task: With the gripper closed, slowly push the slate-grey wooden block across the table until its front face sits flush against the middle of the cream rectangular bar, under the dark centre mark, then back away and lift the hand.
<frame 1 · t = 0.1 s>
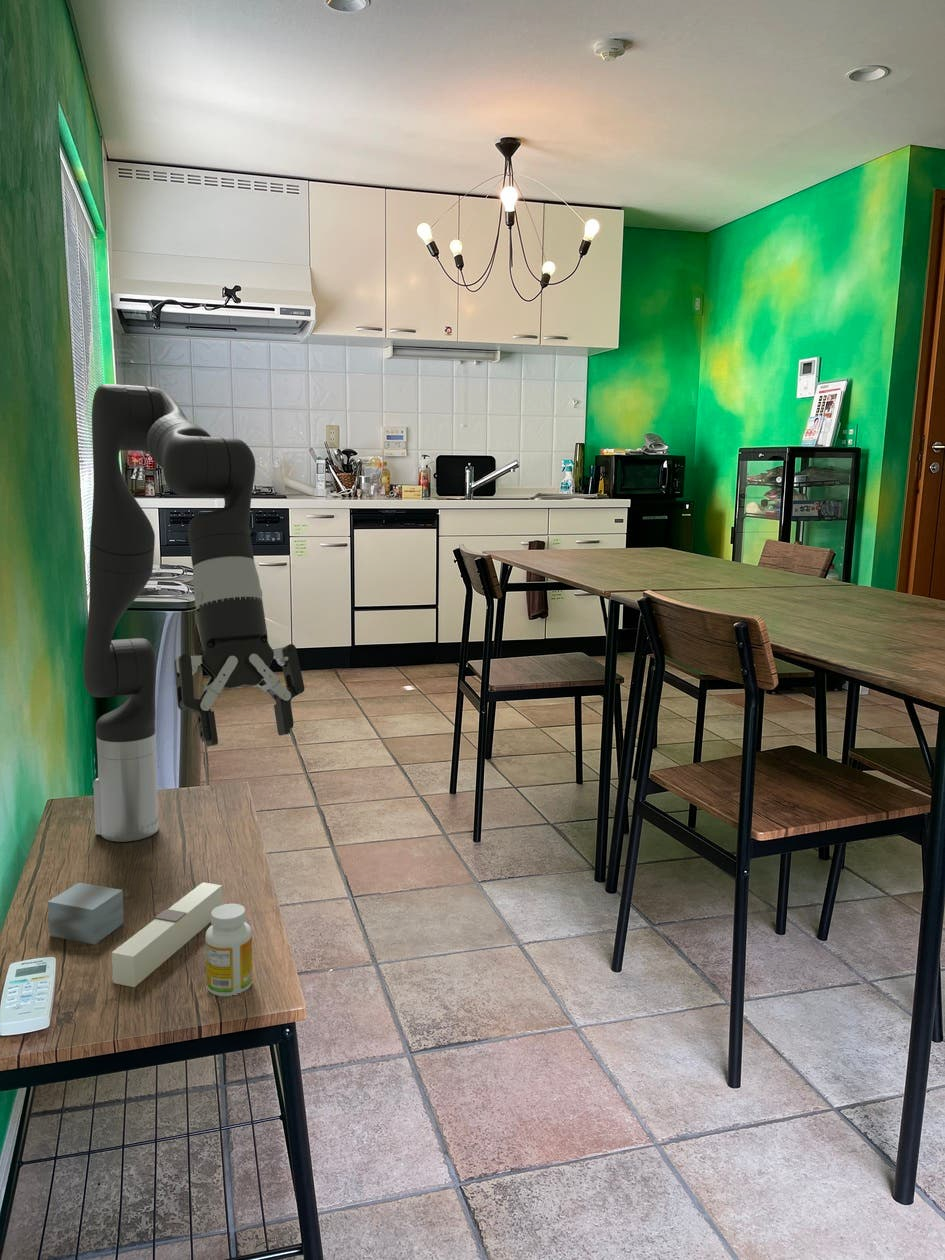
hand: (249, 740, 104), 31 cm above the table, tool tilted 20°, fingers open, 8 cm apart
supplement bottle: (229, 986, 111), on the table
block: (87, 930, 123), on the table
cream rectangular bar: (171, 944, 120), on the table
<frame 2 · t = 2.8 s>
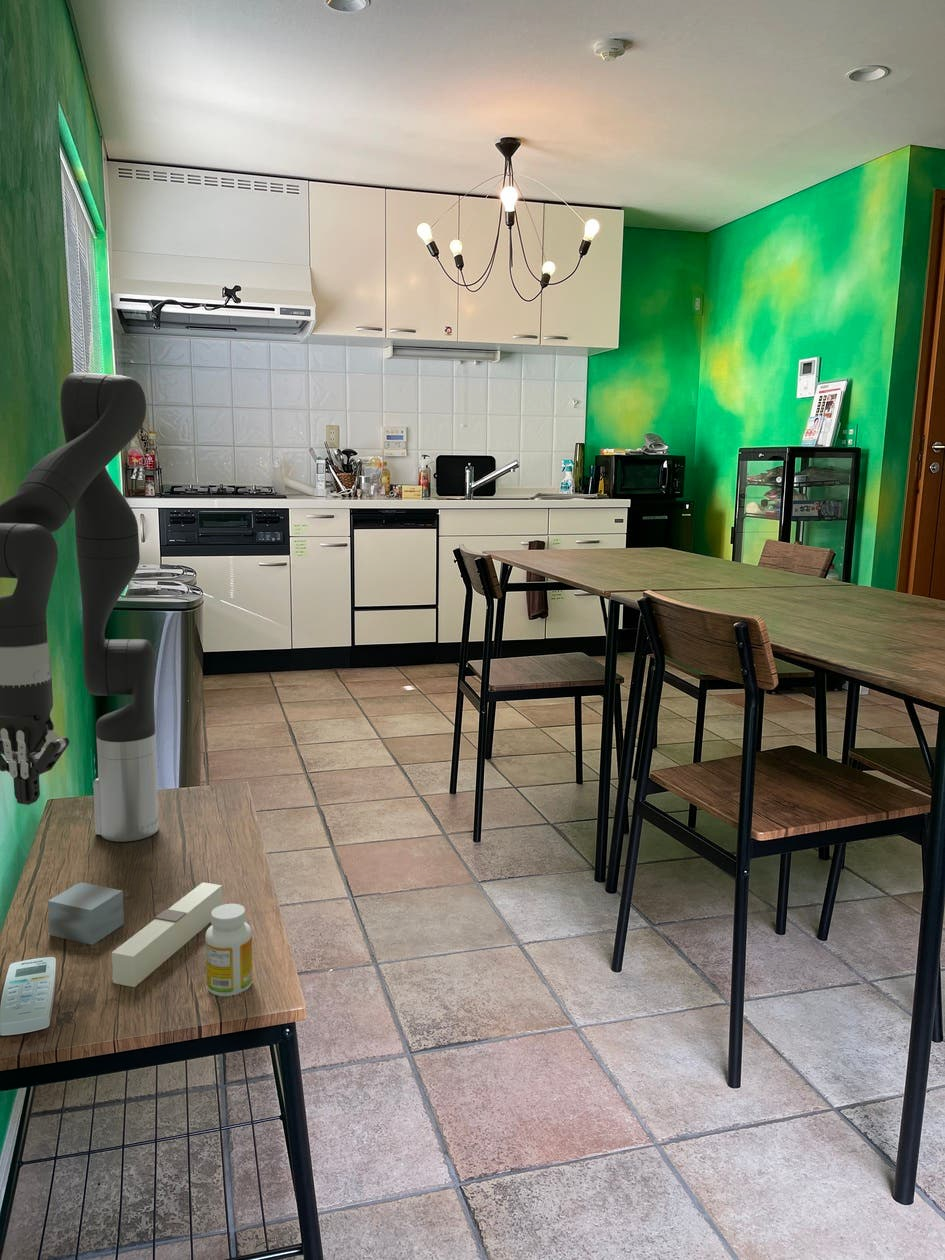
hand: (27, 802, 123), 17 cm above the table, tool pointing down, fingers closed
nothing on the table moved.
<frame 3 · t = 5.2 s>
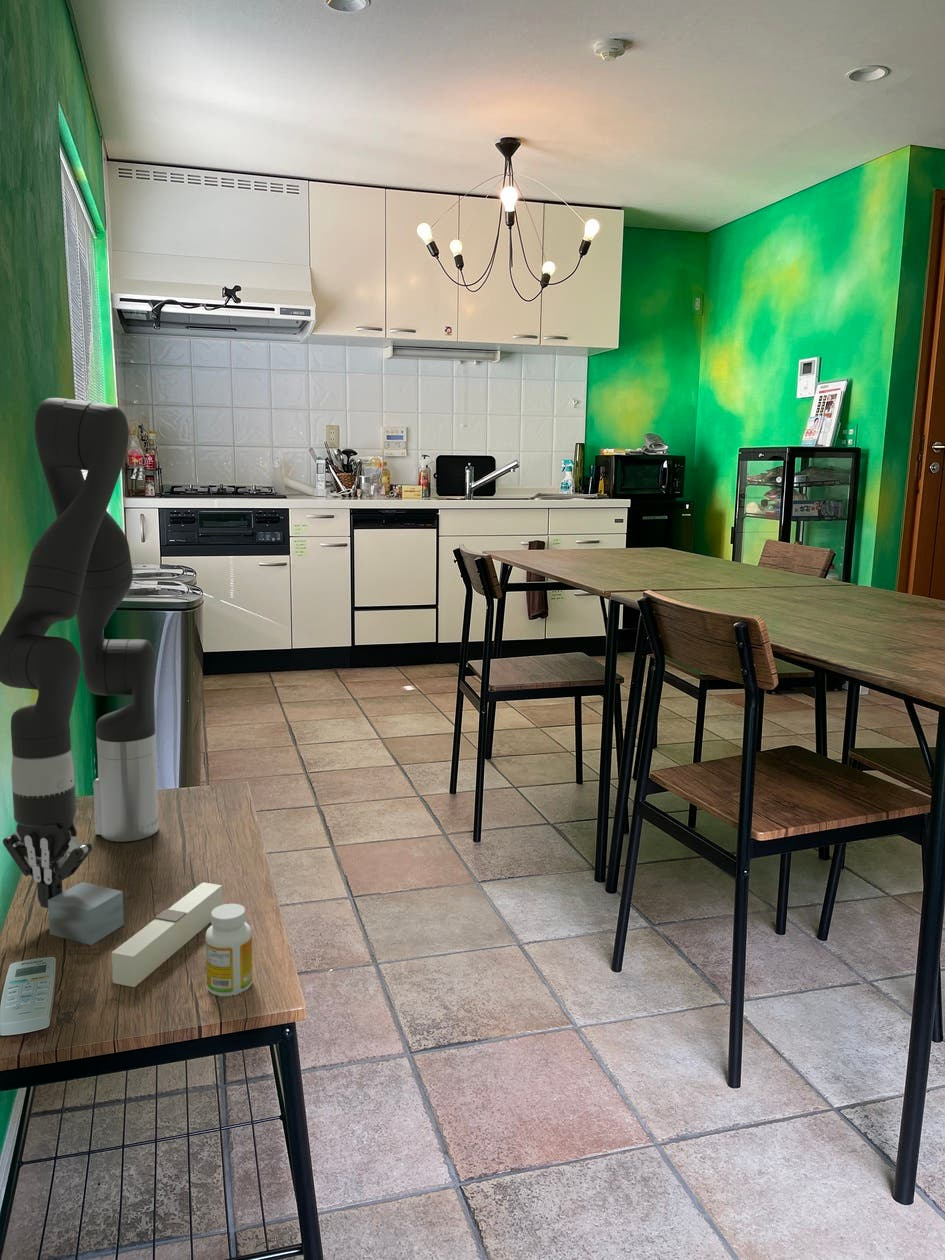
hand: (50, 905, 124), 3 cm above the table, tool pointing down, fingers closed
block: (87, 930, 123), on the table, touching gripper
everything else where it was.
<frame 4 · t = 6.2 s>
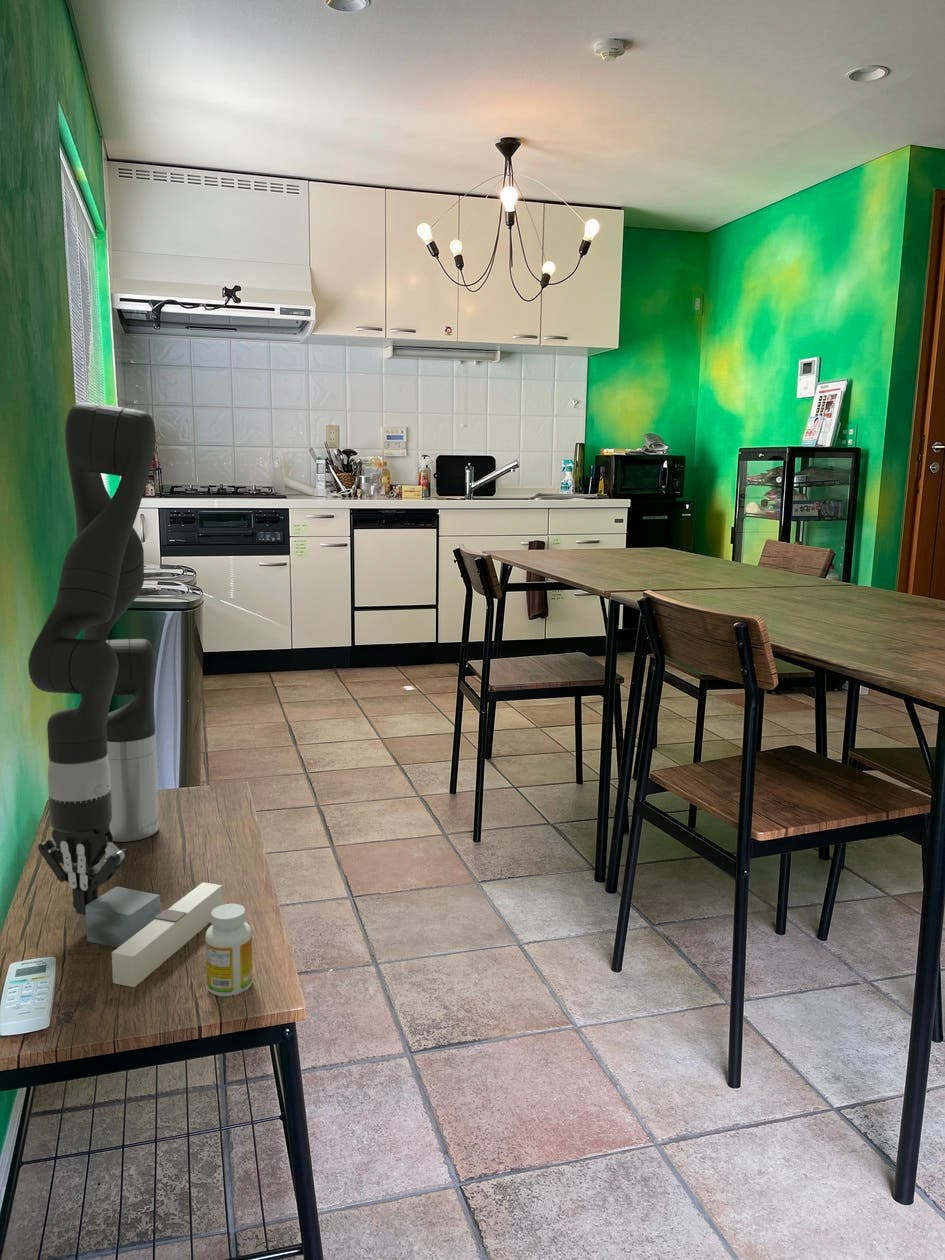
hand: (85, 911, 123), 3 cm above the table, tool pointing down, fingers closed
block: (124, 935, 122), on the table, touching gripper
everything else where it was.
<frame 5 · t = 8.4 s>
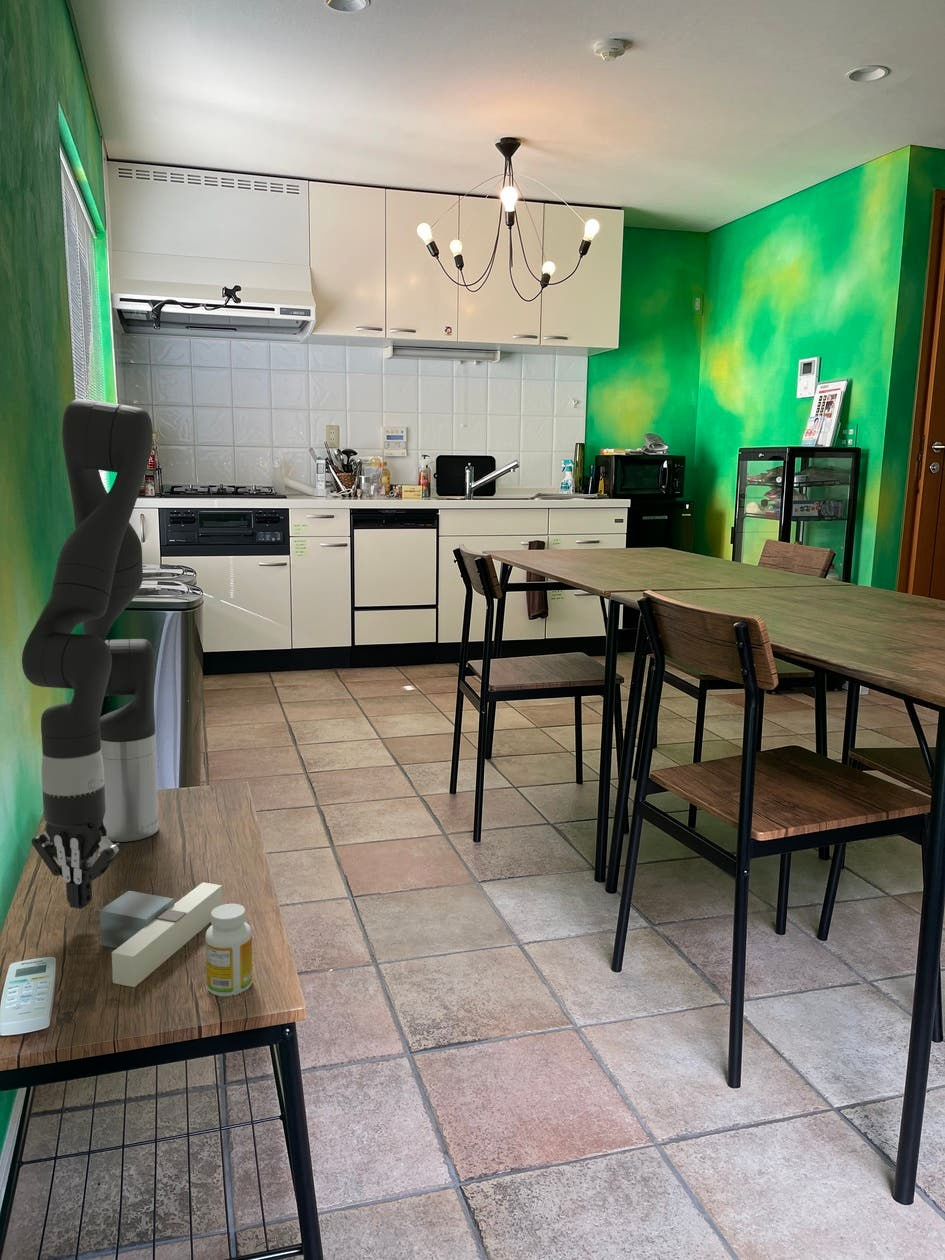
hand: (79, 905, 123), 3 cm above the table, tool pointing down, fingers closed
block: (138, 939, 121), on the table
everything else where it was.
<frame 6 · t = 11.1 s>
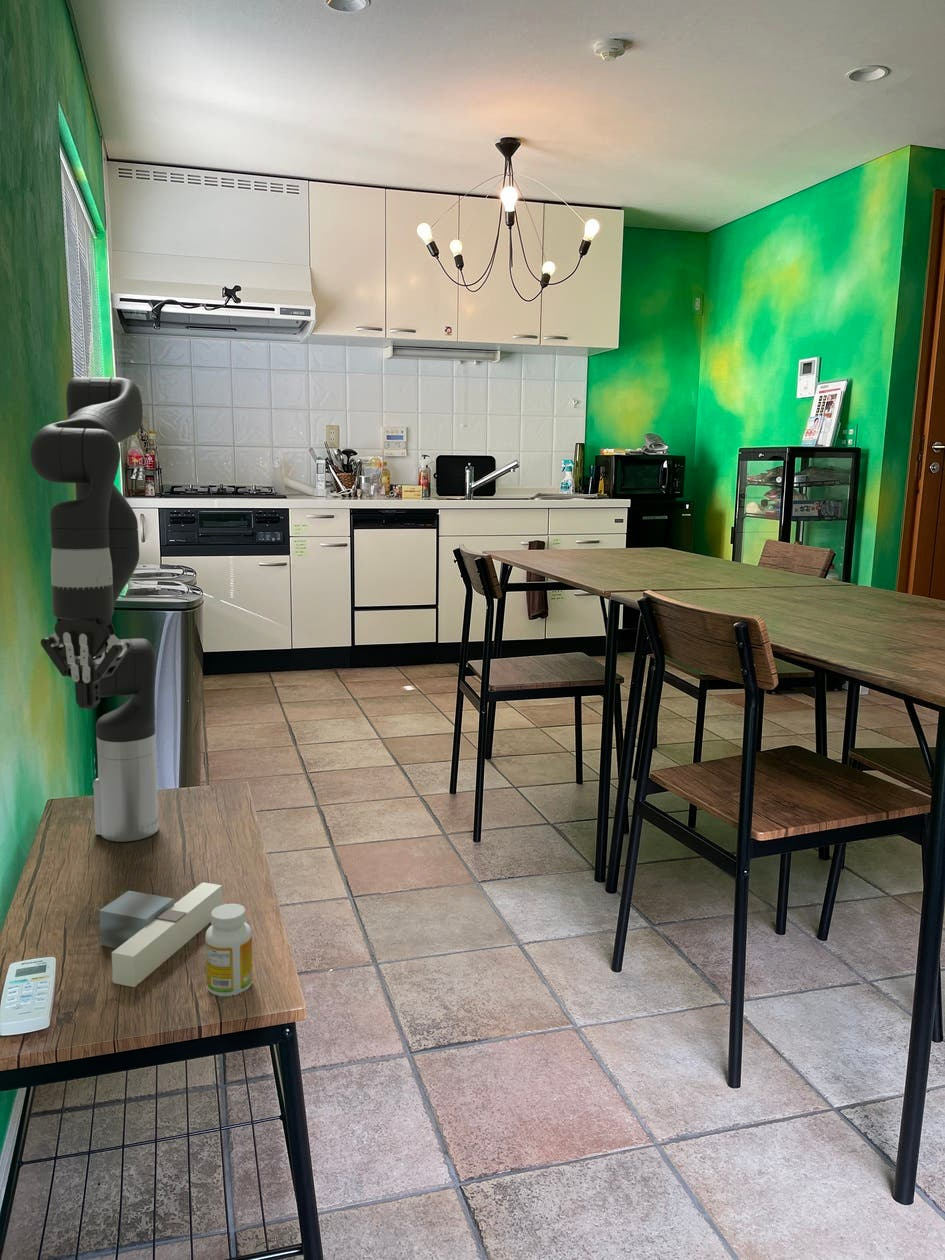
hand: (88, 707, 125), 29 cm above the table, tool pointing down, fingers closed
nothing on the table moved.
at the end: block 0.2 cm from the target spot on the table beside the cream rectangular bar, on the table; block tilted 0° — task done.
